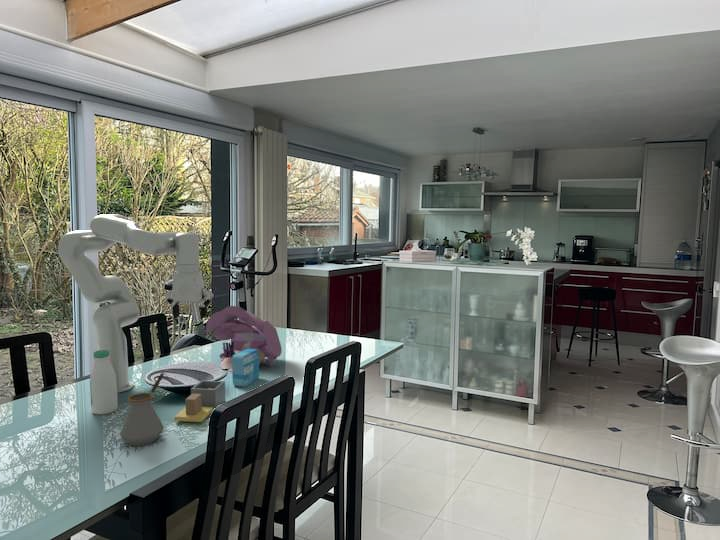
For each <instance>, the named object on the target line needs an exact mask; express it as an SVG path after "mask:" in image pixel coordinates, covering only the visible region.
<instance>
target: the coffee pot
mask: <svg viewBox="0 0 720 540" xmlns="http://www.w3.org/2000/svg"><path fill="white" fill-rule="evenodd" d="M164 376H166V377H164ZM167 377H168V375H167V374H166V373H164V372H161V373H160V374H159V376H158V378H157V380H156V381H155V382H154V384H153V385H152V388H151V390H150V392H149V393H148V392H141V393H135V394H132V395H129V396H128V398H127V400H128V402H130V403H129V404H130V407H129V410H128V412H127V415H126V417H125V419H124V422H123V425H122V427H121V429H120V433H119V436H120V438H121V439H122V440H123V441H124V442H126V444H128V443H129V444H128V445H130V446H135V447H136V446H137V447H139V446H146V445H149V444H151V443H154V442H155V441H156V440H157V439H158V438H159V437H160V436H161V434H162V433H163V431H164V425H163V423H162V421H161V419H160V418H159V416H158V414H157V412H156V409H154V406H153V404H152V403H151V402H152V399H153V396H154V395H153V394H154V392H155V391H156V389H157V388H158V387H159V385H160V383H161V381H162V380H163V379H166V378H167Z"/></svg>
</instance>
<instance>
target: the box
mask: <svg viewBox="0 0 720 540" xmlns="http://www.w3.org/2000/svg"><path fill="white" fill-rule="evenodd" d="M191 394H201V399H202V407H213V409H214V408H216V407H217V406H218V405H220V404H222V403H223V404H224V403H225V402H226V381H225V380H199V382H197V384H196V383H195V385H194V386H192V387H191V388H190V395H191ZM223 404H222V405H223Z"/></svg>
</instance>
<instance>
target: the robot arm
mask: <svg viewBox="0 0 720 540" xmlns="http://www.w3.org/2000/svg"><path fill="white" fill-rule="evenodd" d="M117 243H119V244H123V245H127V246H128V247H129V248H130V249H131V250H134V251H136V252H139V253H142V254H147V255H152V256H162V255H170V254H175V264H174V265H172V269H173V270H175V272H174V273H173V277H172V286H171V287H172V289H171V290H169V291H167V292H165V293H164V297H165V299H166V300H167V303H169V304H170V307H172V315H173V318H174V319H177V318H180V316H181V315H180V312H181V311H180V305H179V303H198V304H199V306H200V308H199V313H200V314H199V316H200V319H202V320H203V319H205V318H207V316H208V308H207V307H208V306H209V304H210V303H211V302H212V300H213V299H214V293H212V292H210V291H208V290H207V289H205V283H204V277H203V274H202V272H201V270H200V250H199V249H200V248H199V247H200V246H199V236H198V234H197V233H195V232H176V231H164V232H163V231H162V232H161V231H160V232H152V231H148V230H144V229H142V228H141V226H140V224H139V223H138V222H136V221H132V220H129V218H128V217H126V216H125V215H122V214H119V213H117V214H116V213H112V214H108V213H107V214H106V213H105V214H104V213H103V214H99V215H98V214H97V215H96V216H94V217H93V218H92V219H91V221H90V223H89V229H86V230H83V229H82V230H74V231H69V232H67V233H64V234H63V235H62V236H61V237H60V239H59V241H58V246H57V247H58V248H57V251H58V256H59V258H60V261H61V262H62V264H63V265H64V266H65V267H66V269H67V271H68V272H69V273H70V275H71V276H72V278H73V280H74V282H75V284H76V285H77V287H78V289H79V291H80V292H81V293H82V295H83V297H84V299H85V300H86V301H87V302H88V303H89V304H91V305H99V304H103V303H106V304H104V305H102V306H99V307H98V308H97V309H95V311H94V313H93V316H92V320H93V325H94V329H95V334H96V339H97V340H96V341H97V351H99V350H108V351H109V356H110V357H109V361H110V364H111V365H112V367H113V369H114V371H115V374H116V384H117V394H119V393H122V392H126V391H128V390H131V389H133V387H134V382H133V381H132V380H130V377H129V361H128V360H129V359H128V345H127V344H128V343H127V337H126V335H125V333H124V330H123V329H122V328H124V327H126V326H130V325H132V324H134V323H136V322H137V321H138V320H139V318H140V313H141V311H140V308H139V305H138V303H137V301H136V299H135V297H134V295H133V294H132V293H131V291H130V289H129V287H128V286H127V284H126V282H125V280H123V279H122V278H120V277H119V276H118V275H117V276H116V275H111V274H110V275H105V276H104V275H103V274H102V273H101V272H100V270H99V269H98V267H97V265H96V264H95V263H94V262H93V260H92V259H90V258H88V257H87V256H86V255H85V254H95V253H100V252H104V251H106V250H107V249H109V248H111V247H113V246H114V245H115V244H117ZM206 296H207V299H206V300H205V298H206ZM108 302H109V303H108Z"/></svg>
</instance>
